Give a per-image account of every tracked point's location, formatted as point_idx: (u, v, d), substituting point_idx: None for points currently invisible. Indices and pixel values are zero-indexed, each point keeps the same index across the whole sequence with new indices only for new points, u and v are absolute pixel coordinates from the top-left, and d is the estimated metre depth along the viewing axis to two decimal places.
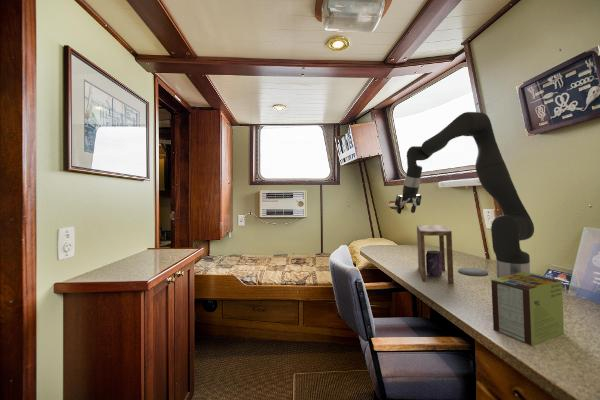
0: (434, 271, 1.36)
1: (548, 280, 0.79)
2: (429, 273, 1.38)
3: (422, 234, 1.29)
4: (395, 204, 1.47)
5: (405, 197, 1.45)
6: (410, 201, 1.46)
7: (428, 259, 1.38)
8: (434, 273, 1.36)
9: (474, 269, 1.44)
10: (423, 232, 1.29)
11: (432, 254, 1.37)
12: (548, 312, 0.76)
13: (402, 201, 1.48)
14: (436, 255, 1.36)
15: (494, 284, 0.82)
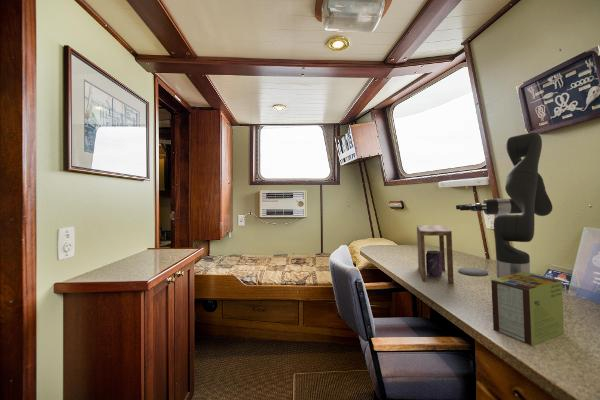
0: (434, 271, 1.36)
1: (548, 280, 0.79)
2: (429, 273, 1.38)
3: (422, 234, 1.29)
4: None
5: None
6: None
7: (428, 259, 1.38)
8: (434, 273, 1.36)
9: (474, 269, 1.44)
10: (423, 232, 1.29)
11: (432, 254, 1.37)
12: (549, 312, 0.76)
13: None
14: (436, 255, 1.36)
15: (494, 284, 0.82)
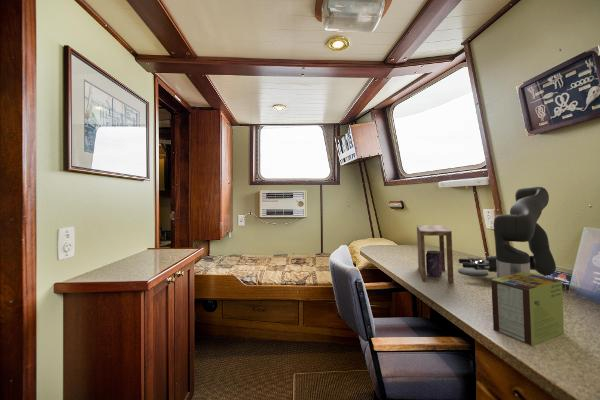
0: (434, 271, 1.36)
1: (548, 280, 0.79)
2: (429, 273, 1.38)
3: (422, 234, 1.29)
4: None
5: None
6: None
7: (428, 259, 1.38)
8: (434, 273, 1.36)
9: (474, 269, 1.44)
10: (423, 232, 1.29)
11: (432, 254, 1.37)
12: (549, 312, 0.76)
13: None
14: (436, 255, 1.36)
15: (494, 284, 0.82)
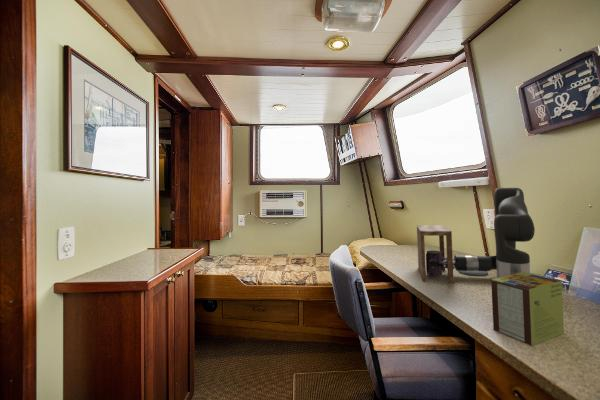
0: (434, 271, 1.36)
1: (548, 280, 0.79)
2: (429, 273, 1.38)
3: (422, 234, 1.29)
4: None
5: None
6: None
7: (428, 259, 1.38)
8: (434, 273, 1.36)
9: None
10: (423, 232, 1.29)
11: (432, 254, 1.37)
12: (549, 312, 0.76)
13: None
14: (436, 255, 1.36)
15: (494, 284, 0.82)
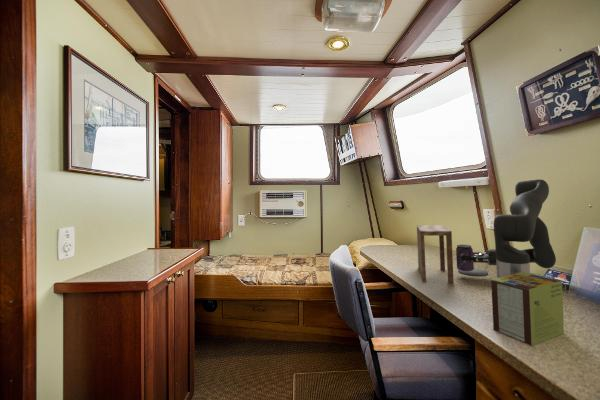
0: (465, 265, 1.32)
1: (548, 280, 0.79)
2: (460, 268, 1.33)
3: (422, 234, 1.29)
4: None
5: None
6: None
7: (459, 253, 1.34)
8: (466, 267, 1.32)
9: (474, 269, 1.44)
10: (423, 232, 1.29)
11: (463, 248, 1.32)
12: (548, 312, 0.76)
13: None
14: (467, 249, 1.32)
15: (494, 284, 0.82)
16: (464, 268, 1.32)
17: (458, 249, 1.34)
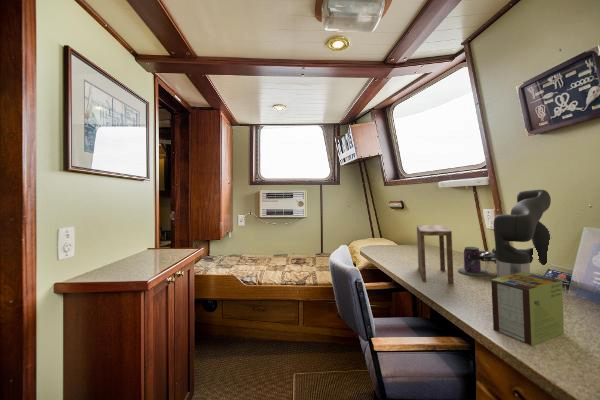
0: (473, 267, 1.38)
1: (548, 280, 0.79)
2: (468, 269, 1.40)
3: (422, 234, 1.29)
4: None
5: None
6: None
7: (467, 255, 1.40)
8: (473, 269, 1.38)
9: None
10: (423, 232, 1.29)
11: (471, 250, 1.39)
12: (548, 312, 0.76)
13: None
14: (475, 251, 1.38)
15: (494, 284, 0.82)
16: (472, 269, 1.38)
17: (466, 251, 1.40)
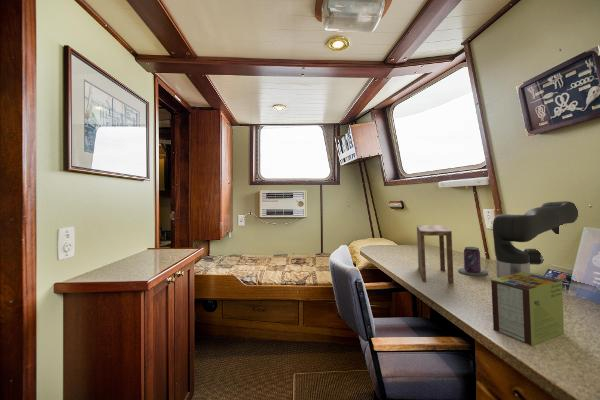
0: (473, 267, 1.38)
1: (548, 280, 0.79)
2: (468, 269, 1.40)
3: (422, 234, 1.29)
4: None
5: None
6: None
7: (467, 255, 1.40)
8: (473, 269, 1.38)
9: None
10: (423, 232, 1.29)
11: (471, 250, 1.39)
12: (548, 312, 0.76)
13: None
14: (475, 251, 1.38)
15: (494, 284, 0.82)
16: (472, 269, 1.38)
17: (466, 251, 1.40)
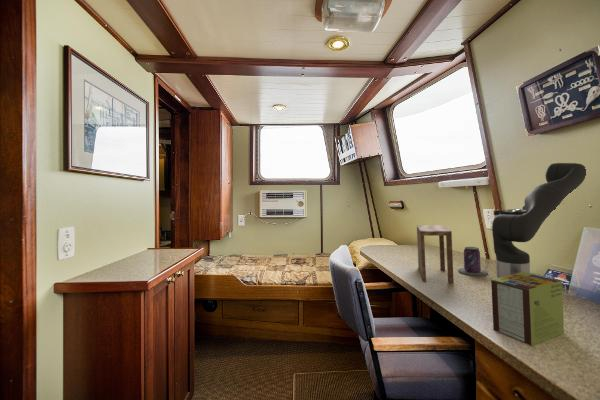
0: (473, 267, 1.38)
1: (548, 280, 0.79)
2: (468, 269, 1.40)
3: (422, 234, 1.29)
4: None
5: None
6: None
7: (467, 255, 1.40)
8: (473, 269, 1.38)
9: None
10: (423, 232, 1.29)
11: (471, 250, 1.39)
12: (548, 312, 0.76)
13: None
14: (475, 251, 1.38)
15: (494, 284, 0.82)
16: (472, 269, 1.38)
17: (466, 251, 1.41)
